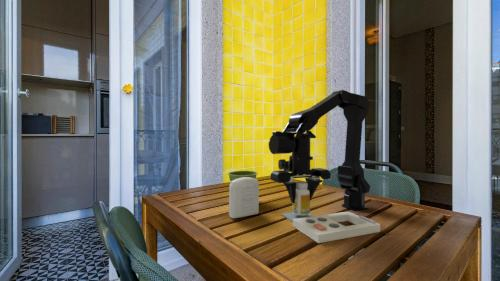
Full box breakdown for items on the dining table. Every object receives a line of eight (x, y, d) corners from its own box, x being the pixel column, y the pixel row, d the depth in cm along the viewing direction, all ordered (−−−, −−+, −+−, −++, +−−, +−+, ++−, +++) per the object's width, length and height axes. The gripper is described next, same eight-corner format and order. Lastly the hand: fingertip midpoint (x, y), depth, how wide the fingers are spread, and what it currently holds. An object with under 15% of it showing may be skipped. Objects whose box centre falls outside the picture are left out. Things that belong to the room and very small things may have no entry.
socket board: (348, 217, 79) (348, 209, 79) (380, 231, 67) (380, 222, 67) (292, 225, 72) (292, 217, 72) (318, 243, 60) (318, 232, 60)
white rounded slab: (253, 210, 86) (253, 175, 86) (260, 214, 82) (260, 176, 82) (227, 216, 80) (226, 178, 80) (233, 220, 77) (233, 180, 76)
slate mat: (304, 211, 85) (304, 210, 85) (321, 220, 76) (321, 219, 76) (281, 214, 82) (281, 213, 82) (295, 224, 73) (295, 222, 73)
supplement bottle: (311, 211, 80) (311, 181, 80) (307, 216, 75) (307, 185, 75) (294, 209, 82) (294, 180, 82) (290, 214, 78) (290, 183, 77)
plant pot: (240, 196, 106) (240, 169, 106) (263, 200, 99) (263, 172, 99) (221, 202, 97) (221, 173, 96) (245, 207, 90) (245, 176, 89)
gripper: (311, 150, 89) (311, 193, 90) (263, 152, 83) (263, 198, 83) (331, 152, 79) (331, 201, 79) (278, 154, 72) (278, 208, 73)
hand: (300, 202), depth 79 cm, fingers closed on supplement bottle, 5 cm apart
